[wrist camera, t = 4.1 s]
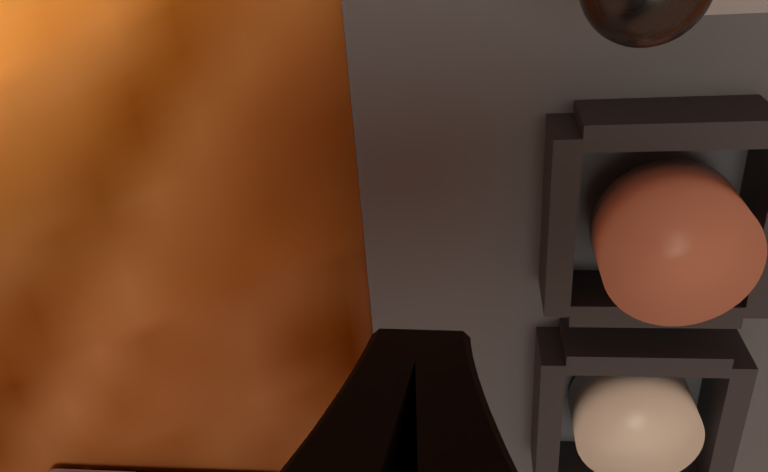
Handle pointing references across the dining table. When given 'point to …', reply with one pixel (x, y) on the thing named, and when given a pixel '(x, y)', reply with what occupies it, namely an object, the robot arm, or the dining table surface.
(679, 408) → the button cream
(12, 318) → the dining table surface
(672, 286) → the button terracotta
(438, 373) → the robot arm
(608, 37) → the toggle lever
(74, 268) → the dining table surface
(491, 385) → the control panel
